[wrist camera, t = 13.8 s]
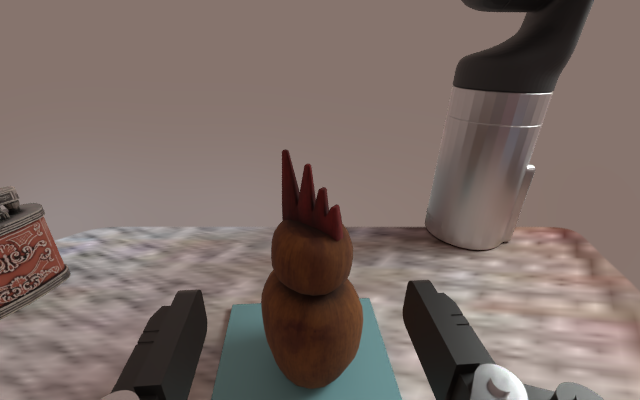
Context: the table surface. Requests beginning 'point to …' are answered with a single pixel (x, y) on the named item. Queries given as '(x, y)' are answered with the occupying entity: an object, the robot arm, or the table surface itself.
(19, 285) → the lighter
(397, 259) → the table surface
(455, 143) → the robot arm
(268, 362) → the mat
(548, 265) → the table surface
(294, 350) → the wooden figurine
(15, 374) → the table surface
